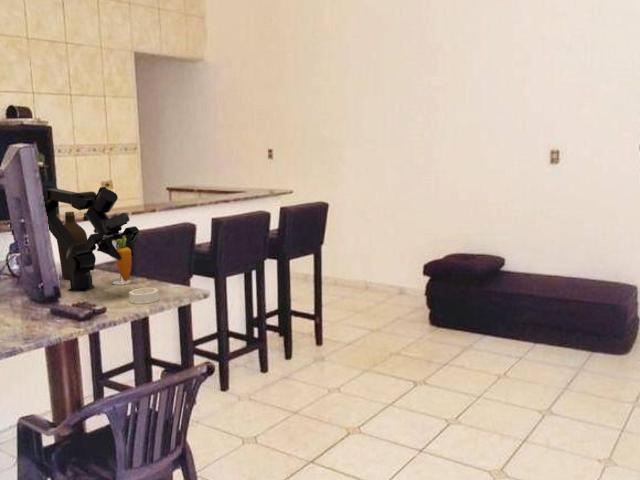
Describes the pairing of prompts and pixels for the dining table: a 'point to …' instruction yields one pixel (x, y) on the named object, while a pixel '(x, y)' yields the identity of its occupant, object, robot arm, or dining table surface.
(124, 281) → the wineglass
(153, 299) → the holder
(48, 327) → the dining table surface
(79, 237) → the olive oil
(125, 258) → the carrot
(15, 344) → the dining table surface
